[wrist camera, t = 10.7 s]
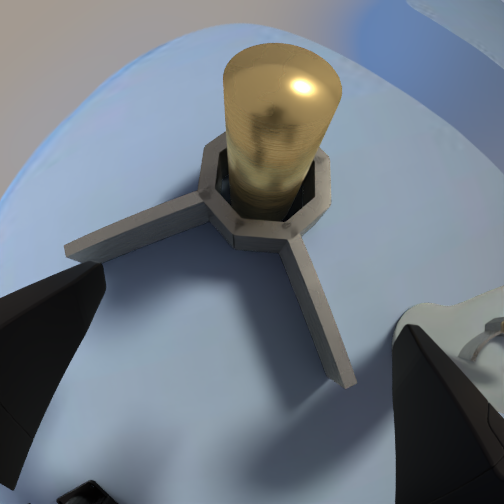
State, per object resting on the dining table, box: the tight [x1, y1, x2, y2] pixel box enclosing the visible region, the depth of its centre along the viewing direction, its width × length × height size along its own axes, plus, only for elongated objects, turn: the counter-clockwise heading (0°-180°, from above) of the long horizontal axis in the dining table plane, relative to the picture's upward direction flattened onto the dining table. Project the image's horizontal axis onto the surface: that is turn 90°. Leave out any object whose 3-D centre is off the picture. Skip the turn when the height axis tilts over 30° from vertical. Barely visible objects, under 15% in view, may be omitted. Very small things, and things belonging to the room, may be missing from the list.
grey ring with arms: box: [64, 132, 357, 389], centre depth 19 cm, size 17×18×4 cm
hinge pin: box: [223, 43, 342, 222], centre depth 16 cm, size 4×4×12 cm
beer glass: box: [392, 285, 504, 414], centre depth 13 cm, size 7×7×15 cm
